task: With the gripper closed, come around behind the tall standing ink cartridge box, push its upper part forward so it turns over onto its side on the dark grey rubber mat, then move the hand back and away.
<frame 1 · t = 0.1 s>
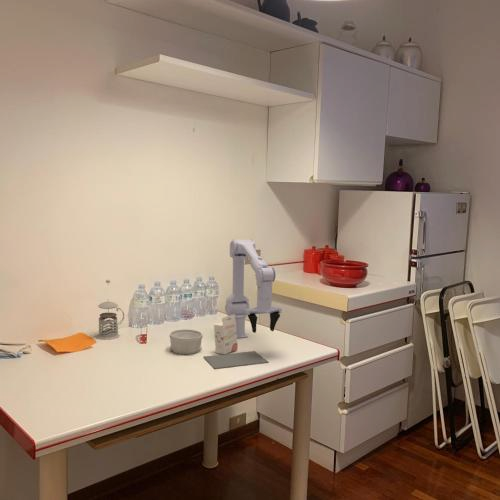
hand: (263, 331, 200), 10 cm above the table, tool pointing down, fingers open, 7 cm apart
french press: (110, 336, 219), on the table
ramekin: (185, 350, 205), on the table
ink cartridge box: (226, 351, 205), on the table, touching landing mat
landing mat: (235, 360, 196), on the table
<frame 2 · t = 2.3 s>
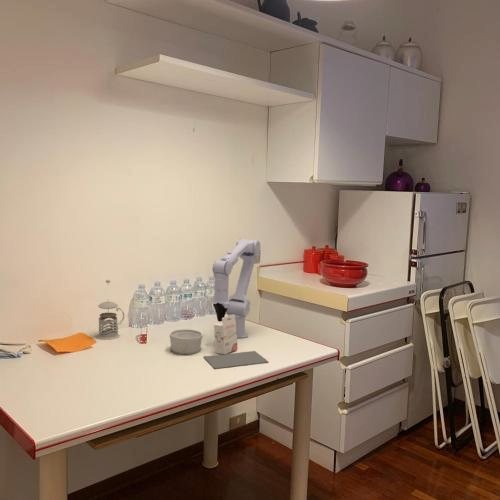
hand: (220, 320, 211), 10 cm above the table, tool pointing down, fingers closed
nothing on the table moved.
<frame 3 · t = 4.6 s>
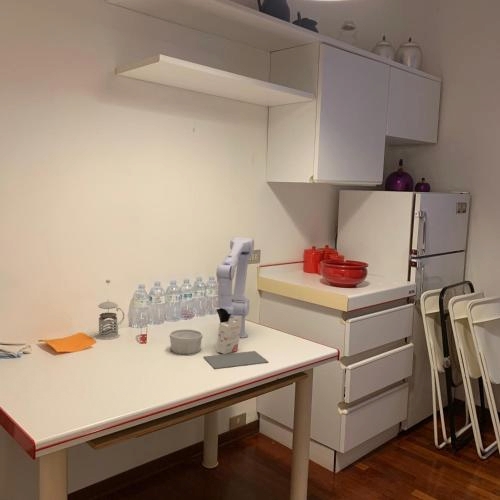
hand: (223, 326, 207), 9 cm above the table, tool pointing down, fingers closed
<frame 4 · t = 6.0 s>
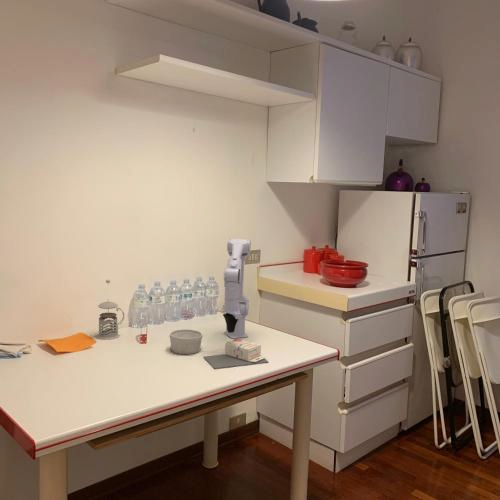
hand: (230, 332, 200), 9 cm above the table, tool pointing down, fingers closed
ink cartridge box: (230, 346, 203), point 3 cm above the table, touching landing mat
everything else where it was.
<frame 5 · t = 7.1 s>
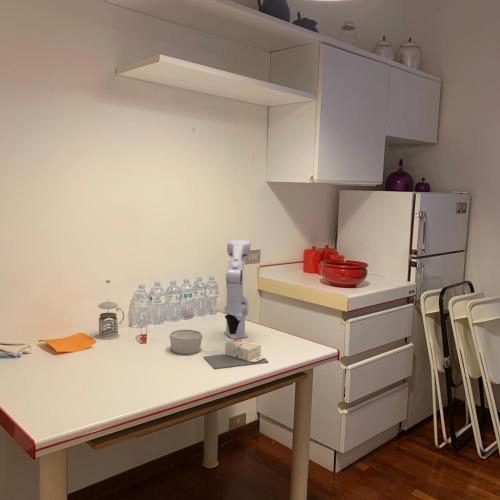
hand: (232, 333, 198), 9 cm above the table, tool pointing down, fingers closed
nothing on the table moved.
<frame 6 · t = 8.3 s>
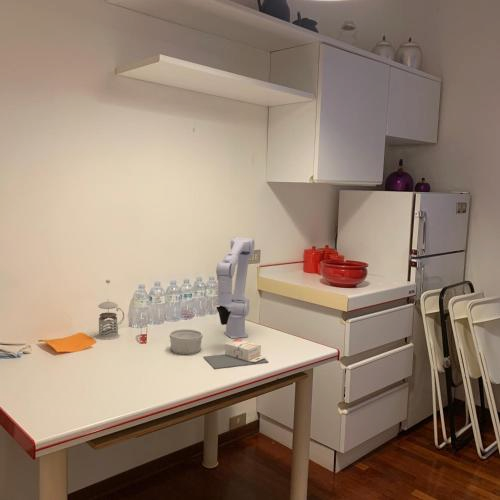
hand: (223, 324, 207), 10 cm above the table, tool pointing down, fingers closed
nothing on the table moved.
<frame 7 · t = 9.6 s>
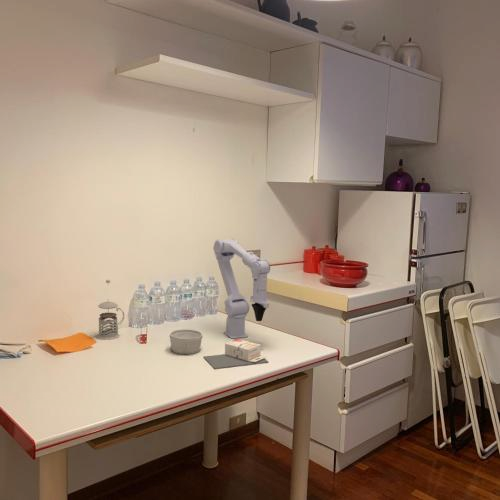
hand: (258, 320, 214), 10 cm above the table, tool pointing down, fingers closed
nothing on the table moved.
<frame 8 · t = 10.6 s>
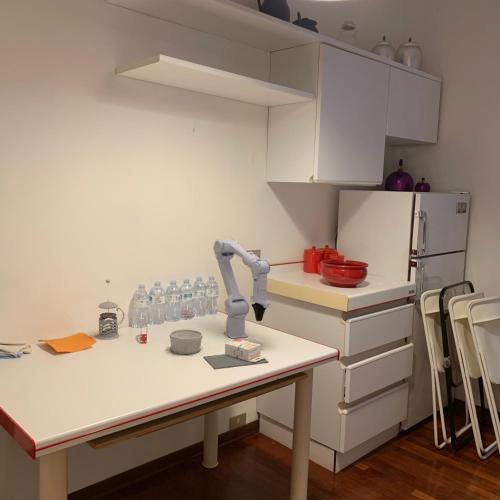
hand: (258, 320, 214), 10 cm above the table, tool pointing down, fingers closed
nothing on the table moved.
at the end: ink cartridge box tilted 90°; ink cartridge box touching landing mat; ink cartridge box inside the target area (2.8 cm from its centre), point 2.9 cm above the table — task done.
